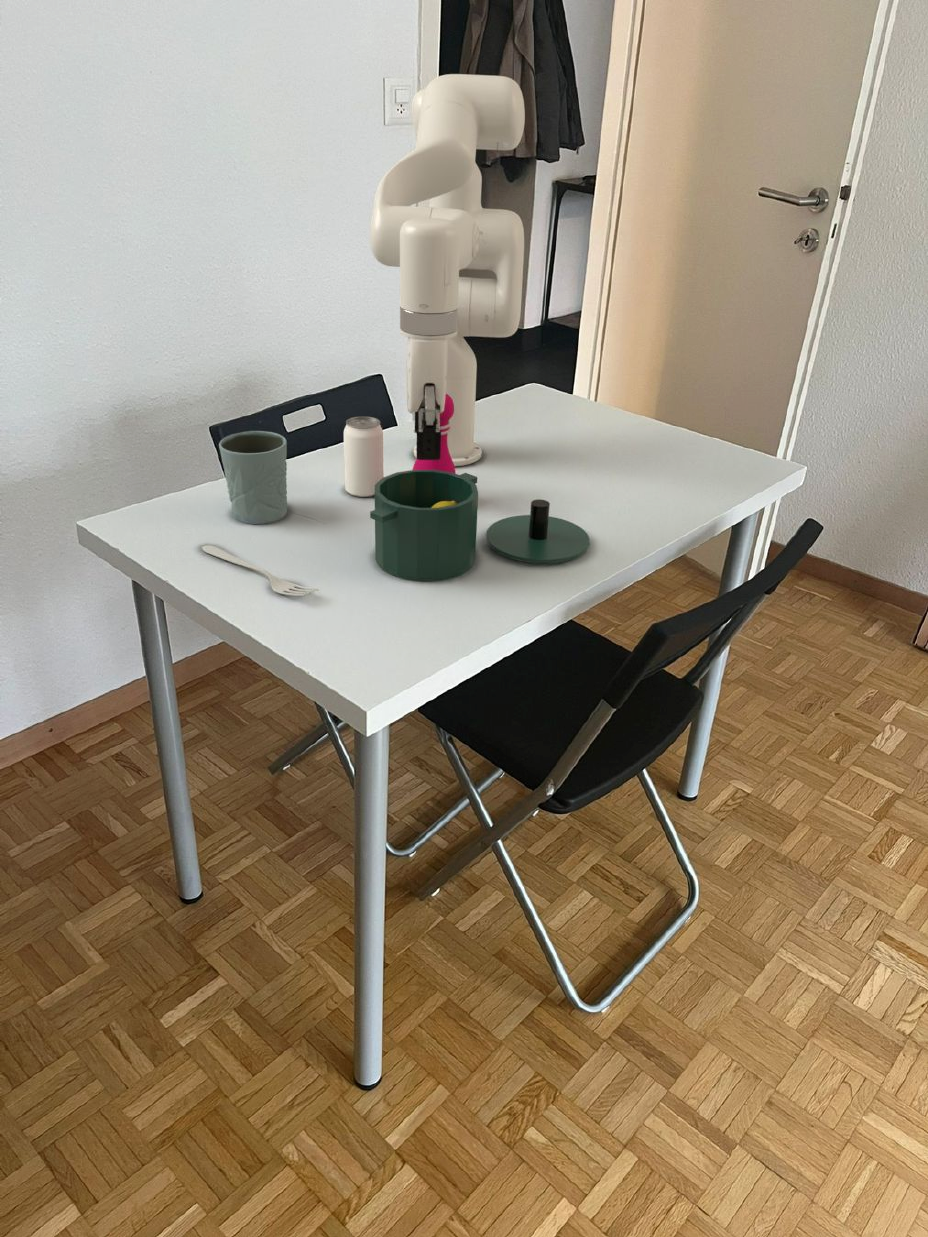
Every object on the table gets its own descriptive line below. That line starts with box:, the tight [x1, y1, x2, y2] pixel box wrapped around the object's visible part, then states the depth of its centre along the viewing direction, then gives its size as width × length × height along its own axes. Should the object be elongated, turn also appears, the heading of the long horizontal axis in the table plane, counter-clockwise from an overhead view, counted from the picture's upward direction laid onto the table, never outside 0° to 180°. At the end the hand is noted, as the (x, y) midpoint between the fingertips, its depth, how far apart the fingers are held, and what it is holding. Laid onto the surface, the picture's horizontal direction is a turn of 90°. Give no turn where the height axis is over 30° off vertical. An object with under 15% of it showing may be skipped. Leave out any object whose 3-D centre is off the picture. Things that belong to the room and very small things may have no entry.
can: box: [343, 416, 384, 498], centre depth 162 cm, size 6×6×12 cm
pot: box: [369, 469, 479, 582], centre depth 141 cm, size 15×20×11 cm
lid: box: [485, 498, 590, 564], centre depth 148 cm, size 16×16×7 cm
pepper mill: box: [412, 394, 457, 474], centre depth 157 cm, size 7×7×20 cm
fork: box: [201, 544, 319, 597], centre depth 138 cm, size 3×24×2 cm, turn 49°
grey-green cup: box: [218, 430, 288, 525], centre depth 153 cm, size 10×10×12 cm
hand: (427, 445), depth 136 cm, fingers open, 9 cm apart
